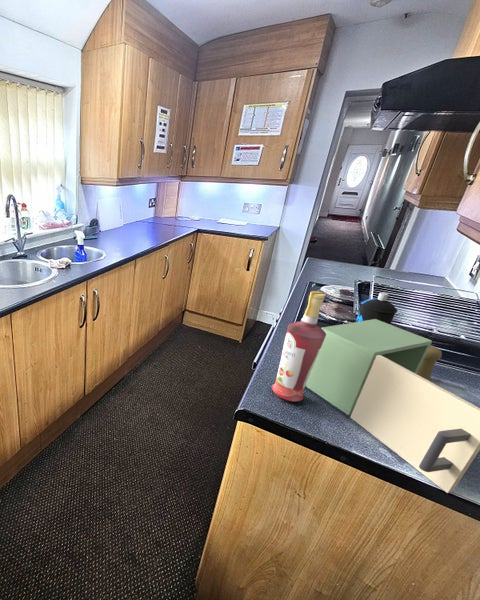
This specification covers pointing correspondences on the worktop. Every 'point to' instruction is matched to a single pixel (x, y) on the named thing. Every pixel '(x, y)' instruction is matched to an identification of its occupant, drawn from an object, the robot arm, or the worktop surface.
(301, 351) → the liquor
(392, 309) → the aerosol can
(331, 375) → the cupboard
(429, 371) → the cork
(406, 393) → the door
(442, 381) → the worktop surface
